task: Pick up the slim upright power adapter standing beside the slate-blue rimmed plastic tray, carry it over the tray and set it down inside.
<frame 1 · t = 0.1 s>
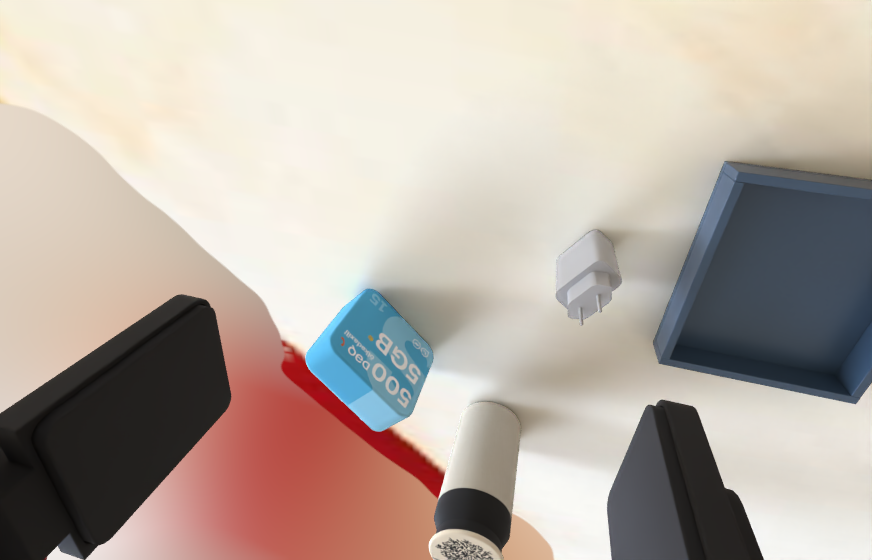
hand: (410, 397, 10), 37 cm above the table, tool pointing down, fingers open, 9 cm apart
data package: (392, 326, 56), on the table
power adapter: (584, 253, 46), on the table
travel mug: (490, 421, 60), on the table
tray: (784, 278, 42), on the table
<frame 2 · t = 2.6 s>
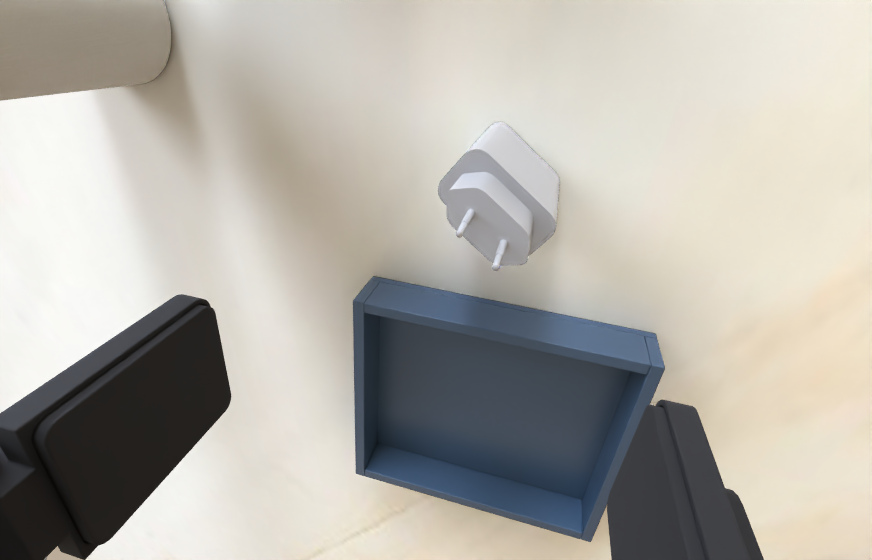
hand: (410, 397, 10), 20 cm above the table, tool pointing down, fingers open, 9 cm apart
power adapter: (513, 168, 27), on the table
travel mug: (123, 15, 29), on the table
tray: (488, 396, 35), on the table
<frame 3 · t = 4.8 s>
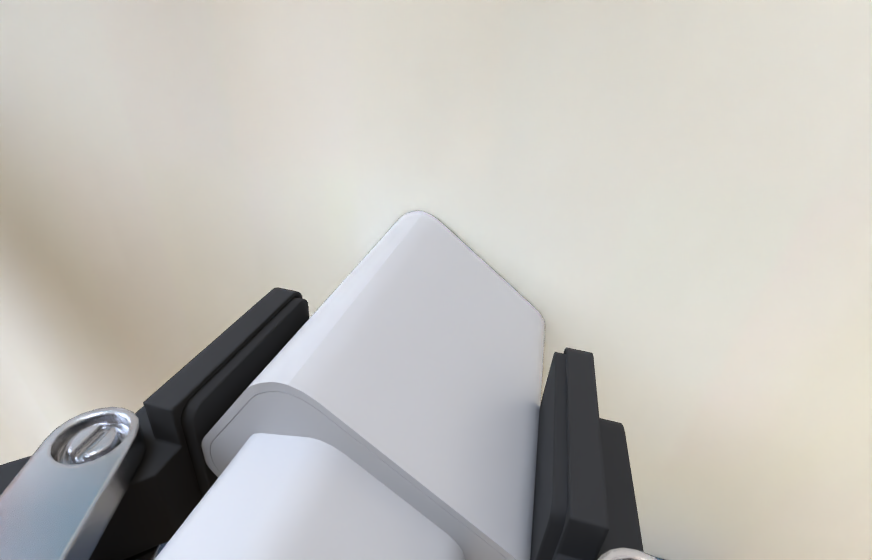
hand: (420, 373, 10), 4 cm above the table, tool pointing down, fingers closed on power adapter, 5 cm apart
power adapter: (454, 294, 14), on the table, touching gripper
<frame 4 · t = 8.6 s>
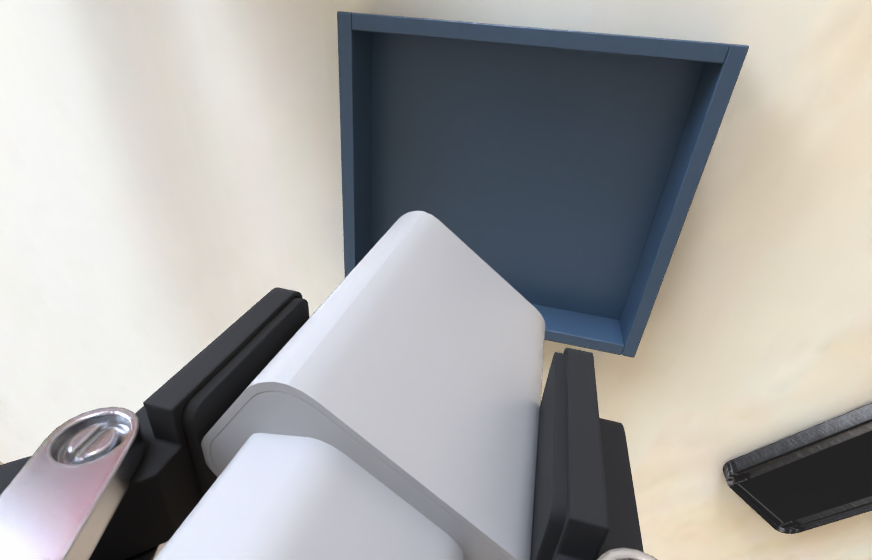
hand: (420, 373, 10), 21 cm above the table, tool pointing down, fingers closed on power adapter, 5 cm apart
power adapter: (454, 294, 14), point 17 cm above the table, touching gripper
tray: (507, 184, 29), on the table
phone: (849, 456, 32), on the table
when the fingers open (4 cm above the table, at t = 12.7 s): power adapter stays where it is, resting on tray.
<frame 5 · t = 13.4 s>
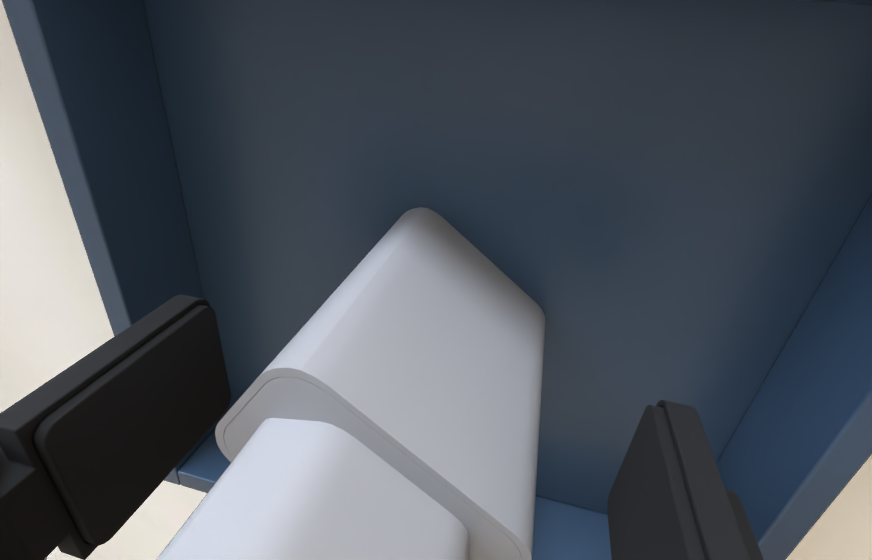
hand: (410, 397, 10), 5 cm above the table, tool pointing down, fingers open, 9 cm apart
power adapter: (456, 289, 14), resting on tray
tray: (456, 283, 14), on the table
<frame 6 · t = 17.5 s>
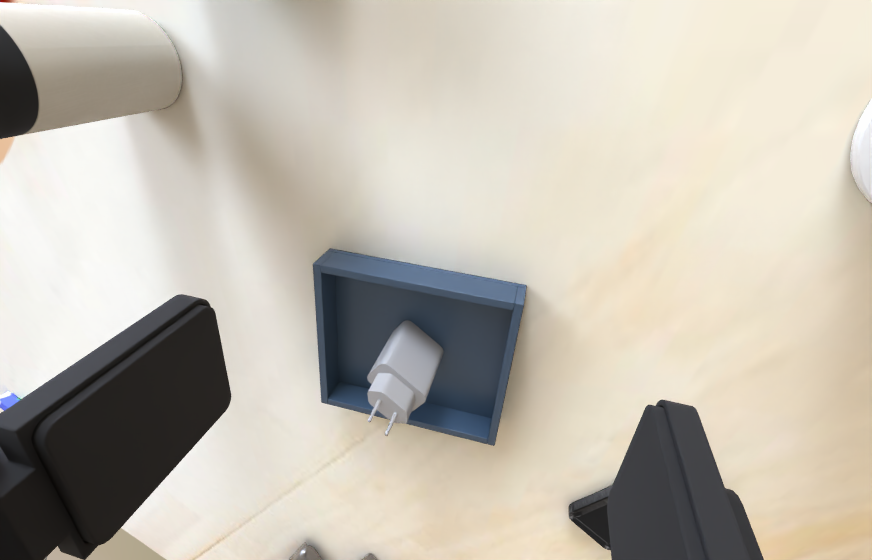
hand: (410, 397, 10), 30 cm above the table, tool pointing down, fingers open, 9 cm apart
power adapter: (418, 341, 47), resting on tray
travel mug: (147, 61, 41), on the table
eraser: (25, 403, 74), on the table
tray: (418, 339, 48), on the table
phone: (640, 502, 51), on the table
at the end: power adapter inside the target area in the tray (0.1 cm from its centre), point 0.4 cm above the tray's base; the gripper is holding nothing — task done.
